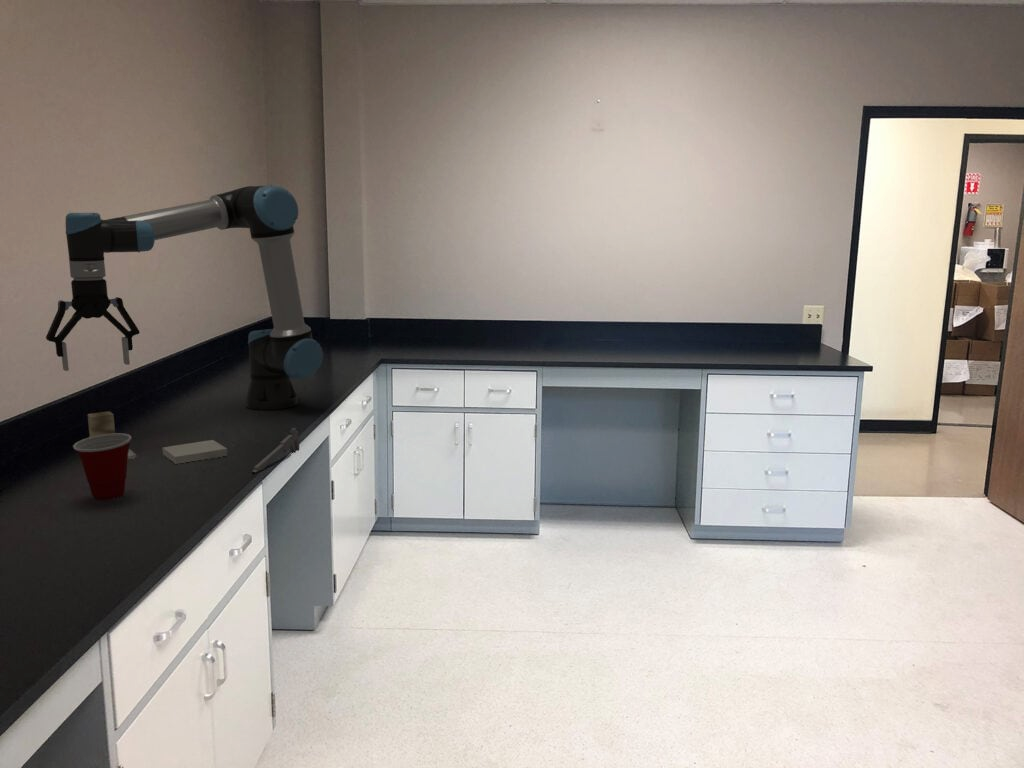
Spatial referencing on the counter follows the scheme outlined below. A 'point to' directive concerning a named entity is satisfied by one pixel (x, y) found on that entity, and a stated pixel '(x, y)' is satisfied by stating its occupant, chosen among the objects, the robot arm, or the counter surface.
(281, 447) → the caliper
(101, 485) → the plastic cup
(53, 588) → the counter surface
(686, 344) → the counter surface
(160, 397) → the counter surface
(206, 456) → the tile
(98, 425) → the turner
